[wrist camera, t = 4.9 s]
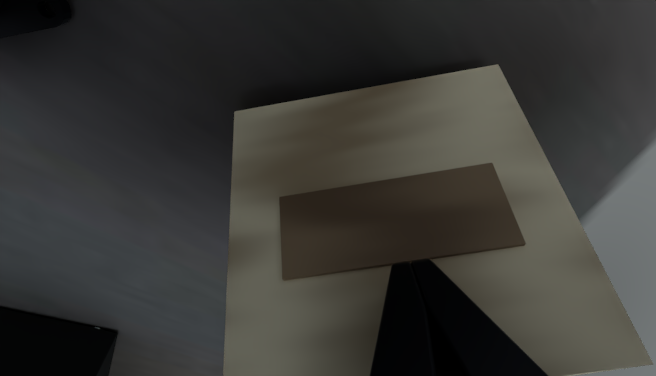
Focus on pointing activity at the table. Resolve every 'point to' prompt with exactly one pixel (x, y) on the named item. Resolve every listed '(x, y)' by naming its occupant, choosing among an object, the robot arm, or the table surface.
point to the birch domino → (407, 229)
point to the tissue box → (52, 347)
